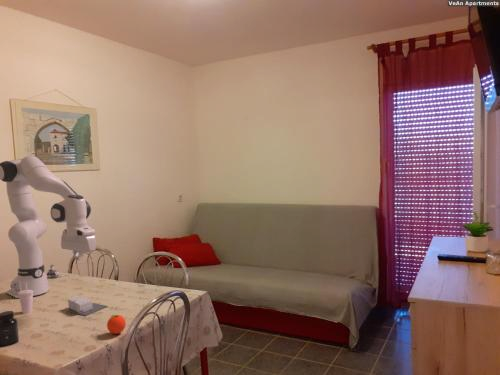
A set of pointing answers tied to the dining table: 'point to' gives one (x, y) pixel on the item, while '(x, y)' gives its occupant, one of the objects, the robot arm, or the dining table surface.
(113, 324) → the clementine
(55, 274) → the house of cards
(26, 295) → the smoothie
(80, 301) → the skincare box
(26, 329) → the dining table surface
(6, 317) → the supplement bottle
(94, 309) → the mat
